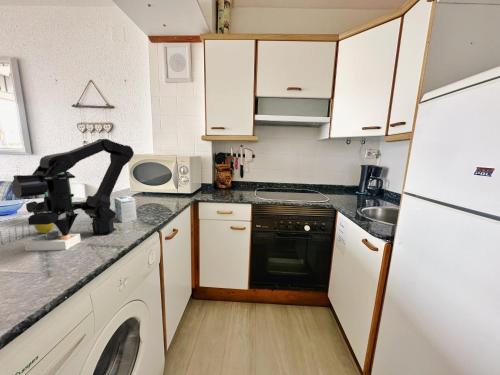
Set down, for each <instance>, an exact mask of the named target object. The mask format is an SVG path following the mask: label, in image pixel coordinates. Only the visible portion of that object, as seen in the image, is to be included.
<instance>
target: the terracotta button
mask: <svg viewBox="0 0 500 375" xmlns="http://www.w3.org/2000/svg"><path fill="white" fill-rule="evenodd" d="M71 234H72V233H68V235H66V236H63V235H61V236H60V240H67V239H69V238H71Z"/></svg>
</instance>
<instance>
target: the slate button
mask: <svg viewBox="0 0 500 375" xmlns="http://www.w3.org/2000/svg"><path fill="white" fill-rule="evenodd" d="M34 238H35V240H43V239H46V238H47V233H46V234H45V233H41V234H37V235H35V236H34Z"/></svg>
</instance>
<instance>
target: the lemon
mask: <svg viewBox="0 0 500 375" xmlns="http://www.w3.org/2000/svg"><path fill="white" fill-rule="evenodd" d="M54 225H55V224H54V223H51V224H45V225H34V229H35V230H36V231H37V232H38V233H41V234H47V233H48V232H51V231H52V229H54Z"/></svg>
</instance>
